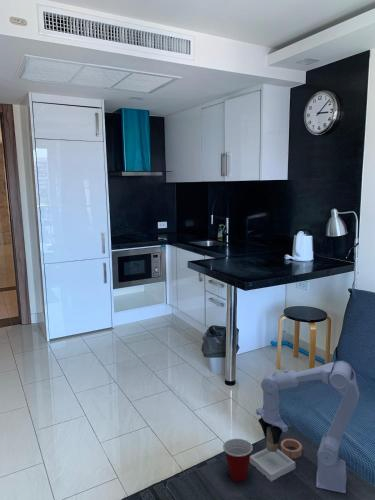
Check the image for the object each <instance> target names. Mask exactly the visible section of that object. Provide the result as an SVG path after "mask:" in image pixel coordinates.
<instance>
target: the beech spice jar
mask: <svg viewBox="0 0 375 500" xmlns="http://www.w3.org/2000/svg"><path fill="white" fill-rule="evenodd" d="M273 426H274V425H272V424H267V438H266V448H267V450H268V451H270V452H276V451H277V450H278V449H279V448H278V447H279V445H278V444H279V443H277V444H274V443H273V436H272V432H271V430H270V428H271V427H273Z"/></svg>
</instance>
